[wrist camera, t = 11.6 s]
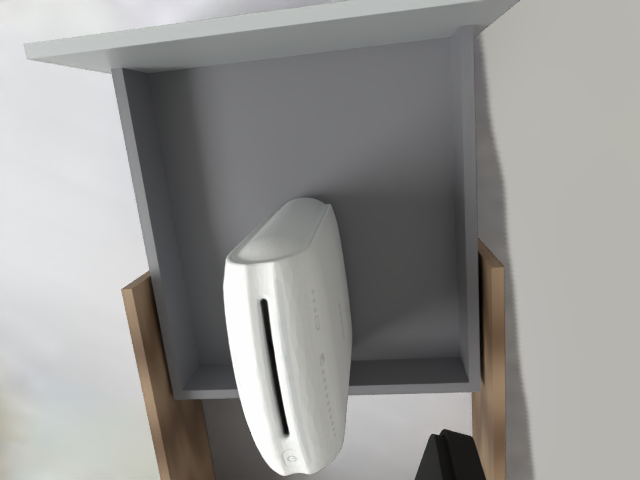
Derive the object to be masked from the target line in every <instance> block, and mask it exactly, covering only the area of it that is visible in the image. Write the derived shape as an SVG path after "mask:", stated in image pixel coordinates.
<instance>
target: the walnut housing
mask: <svg viewBox="0 0 640 480" xmlns="http://www.w3.org/2000/svg"><path fill="white" fill-rule="evenodd" d="M478 288H479V339H480V391H481V392H472V425H473V439H474V441H475V444H476V448H477V451H478V454H479V458H480V461H481V464H482V467H483V471H484V474H485V477H486V480H506V458H505V282H504V266H503V265H502V264H501V263H500V262H499V260H498V259H497V258H496V257H495V256H494V255H493V254H492V253H491V251H490V250H489V249H488V248H487V247H486V246H485V245H484V244H483V242H482V241H481V240H480V239H479V238H478ZM121 291H122V296H123V300H124V305H125V310H126V315H127V320H128V324H129V329H130V334H131V339H132V344H133V348H134V353H135V358H136V363H137V368H138V372H139V377H140V382H141V387H142V392H143V396H144V401H145V406H146V411H147V416H148V420H149V425H150V430H151V435H152V439H153V444H154V449H155V454H156V459H157V463H158V468H159V473H160V478H161V480H215V475H214V469H213V464H212V458H211V452H210V447H209V441H208V435H207V430H206V424H205V418H204V413H203V407H202V401H201V399H187V400H174V396H173V390H172V385H171V380H170V375H169V369H168V364H167V359H166V354H165V349H164V343H163V338H162V333H161V328H160V322H159V317H158V312H157V307H156V302H155V296H154V291H153V286H152V281H151V275H150V270H149V271H148V272H146V273H145V274H143V275H142V276H141V277H139V278H138V279H136V280H135V281H133V282H132V283H130V284H129V285H127V286H126V287H124V288H123V289H121Z"/></svg>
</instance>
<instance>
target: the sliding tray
mask: <svg viewBox="0 0 640 480" xmlns="http://www.w3.org/2000/svg"><path fill="white" fill-rule="evenodd" d="M519 1H520V0H348V1H341V2H333V3H326V4H318V5H311V6H303V7H296V8H288V9H281V10H273V11H266V12H259V13H251V14H244V15H236V16H229V17H221V18H214V19H206V20H199V21H191V22H184V23H176V24H169V25H161V26H154V27H146V28H139V29H132V30H124V31H117V32H109V33H102V34H94V35H87V36H79V37H72V38H64V39H57V40H49V41H42V42H34V43H27V44H24V48H25V52H26V57H27V59H29V60H34V61H40V62H46V63H52V64H57V65H63V66H69V67H74V68H80V69H86V70H92V71H97V72H103V73H109V74H112V77H113V82H114V87H115V93H116V98H117V103H118V108H119V114H120V119H121V124H122V129H123V134H124V140H125V145H126V150H127V155H128V161H129V166H130V171H131V176H132V181H133V187H134V192H135V197H136V202H137V208H138V213H139V218H140V223H141V228H142V234H143V239H144V244H145V249H146V255H147V260H148V265H149V270H150V275H151V281H152V286H153V291H154V296H155V302H156V307H157V312H158V317H159V322H160V328H161V333H162V338H163V343H164V349H165V354H166V359H167V364H168V369H169V375H170V380H171V385H172V390H173V396H174V400H187V399H225V398H240V396H239V392H238V388H237V384H236V379H235V374H234V369H233V363H232V358H231V352H230V346H229V339H228V332H227V325H226V316H225V306H224V291H223V283H224V275H225V263H226V258H227V256H228V254H229V253H230V252H231V251H232V250H233V249H234V248H235V247H236V246H237V245H238V244H239V243H240V242H241V241H242V240H244V238H245V237H247V236H248V235H249V234H250V233H251V232H252V231H253V230H254V229H255V228H256V227H257V226H258V225H259V224H260V223H261V222H262V221H263V220H264V219H265V218H266V217H267V216H268V215H269V214H270V213H271V212H272V211H274V210H280V209H281V208H282V207H283V206H284V205H285V204H286V203H288V202H289V201H291V200H293V199H297V198H314V199H317V200H319V201H321V202H323V203H324V204H331V206H332V208H333V211H334V214H335V217H336V221H337V224H338V229H339V235H340V240H341V246H342V252H343V259H344V265H345V272H346V279H347V286H348V294H349V302H350V312H351V322H352V351H351V365H350V377H349V388H348V395H378V394H416V393H454V392H481V391H480V339H479V288H478V236H477V185H476V133H475V82H474V37H475V36H477V35H478V34H479V33H480V32H482V31H483V30H484V29H485V28H486V27H488V26H489V25H490V24H492V23H493V22H494V21H495V20H496V19H498V18H499V17H500V16H501V15H503V14H504V13H505V12H506V11H507V10H509V9H510V8H511V7H512V6H513V5H515V4H516V3H517V2H519Z"/></svg>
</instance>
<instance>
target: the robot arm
mask: <svg viewBox="0 0 640 480" xmlns="http://www.w3.org/2000/svg"><path fill="white" fill-rule="evenodd" d="M415 480H486V477H485V474H484V471H483V467H482V464H481V461H480V458H479V454H478V451H477V448H476V444H475V441H474V439H473V437H471V436H468V435H464V434H461V433H457V432H453V431H450V430H446V429H444V430H442V431H441V433H440V435H435V434H431V436H430V438H429V440H428V443H427V446H426V449H425V451H424V454H423V457H422V460H421V463H420V466H419V469H418V472H417V474H416V477H415Z"/></svg>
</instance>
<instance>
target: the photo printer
mask: <svg viewBox="0 0 640 480" xmlns="http://www.w3.org/2000/svg"><path fill="white" fill-rule="evenodd" d="M223 291H224V306H225V316H226V325H227V332H228V339H229V346H230V352H231V358H232V363H233V369H234V374H235V379H236V384H237V388H238V392H239V396H240V400H241V404H242V408H243V411H244V415H245V418H246V421H247V424H248V426H249V428H250V431H251V434H252V437H253V439H254V441H255V444H256V446H257V448H258V450H259V451H260V453H261V455H262V457H263V458H264V460H265V461H266V462H267V464H268V465H269V466H270V468H272V469H273V470H274V471H275V472H277V473H278V474H280V475H283V476H287V475H290V474H293V473H305V474H313V473H316V472H318V471H319V470H321V469H323V468H324V467H326V466H327V465H328V464H330V463H331V462H332V461H333V460H334V459H335V457H336V456H337V455H338V453H339V452H340V450H341V447H342V444H343V440H344V433H345V423H346V411H347V400H348V388H349V377H350V365H351V351H352V322H351V312H350V302H349V294H348V286H347V279H346V272H345V265H344V259H343V252H342V246H341V240H340V235H339V229H338V224H337V221H336V217H335V214H334V211H333V208H332V206H331V204H324V203H323V202H321V201H319V200H317V199H314V198H297V199H293V200H291V201H289V202H288V203H286V204H285V205H284V206H283V207H282V208H281V209H280V210H274V211H272V212H271V213H270V214H269V215H268V216H267V217H266V218H265V219H264V220H263V221H262V222H261V223H260V224H259V225H258V226H257V227H256V228H255V229H254V230H253V231H252V232H251V233H250V234H249V235H248V236H247V237H245V238H244V240H242V241H241V242H240V243H239V244H238V245H237V246H236V247H235V248H234V249H233V250H232V251H231V252H230V253H229V254H228V256H227V258H226V263H225V275H224V283H223Z"/></svg>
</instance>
